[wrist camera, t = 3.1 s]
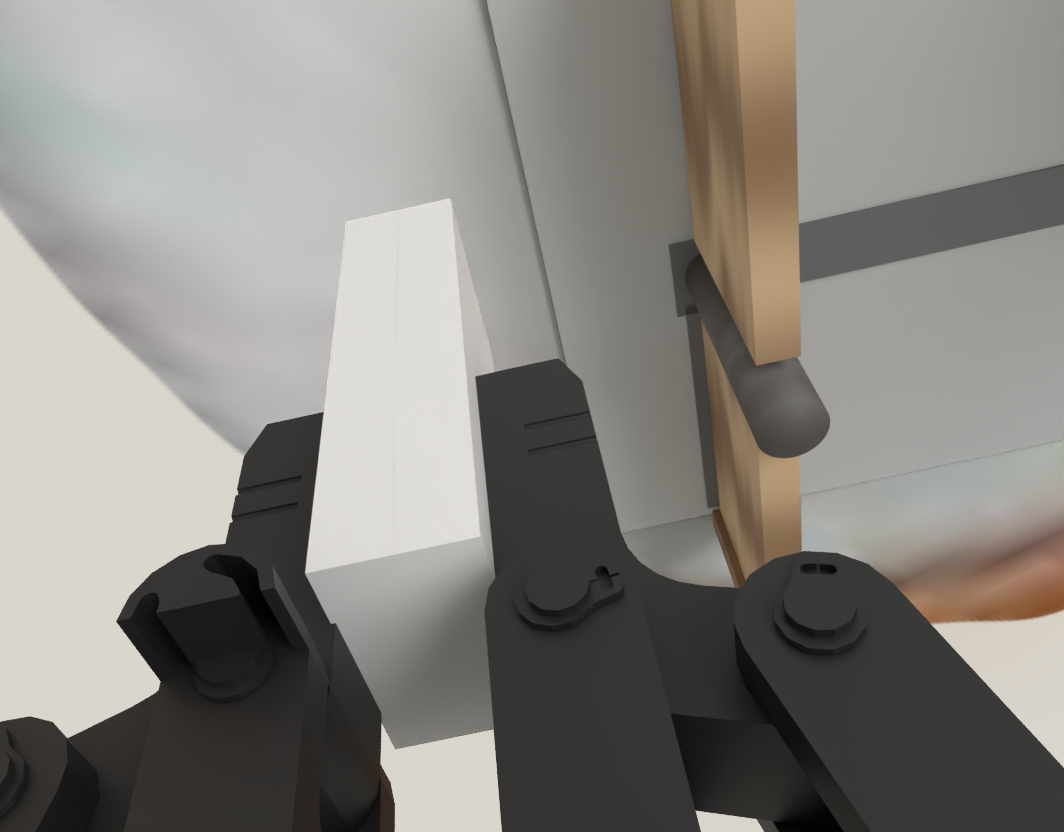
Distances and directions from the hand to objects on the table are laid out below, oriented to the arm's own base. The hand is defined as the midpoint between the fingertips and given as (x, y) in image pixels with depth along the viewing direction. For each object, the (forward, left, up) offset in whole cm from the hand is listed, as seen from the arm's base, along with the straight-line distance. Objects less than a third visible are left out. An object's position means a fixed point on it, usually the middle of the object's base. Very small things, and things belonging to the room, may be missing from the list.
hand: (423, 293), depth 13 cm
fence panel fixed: (-7, +16, -15) cm, 23 cm away
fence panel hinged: (-7, +2, -14) cm, 16 cm away
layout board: (-11, +10, -15) cm, 21 cm away
